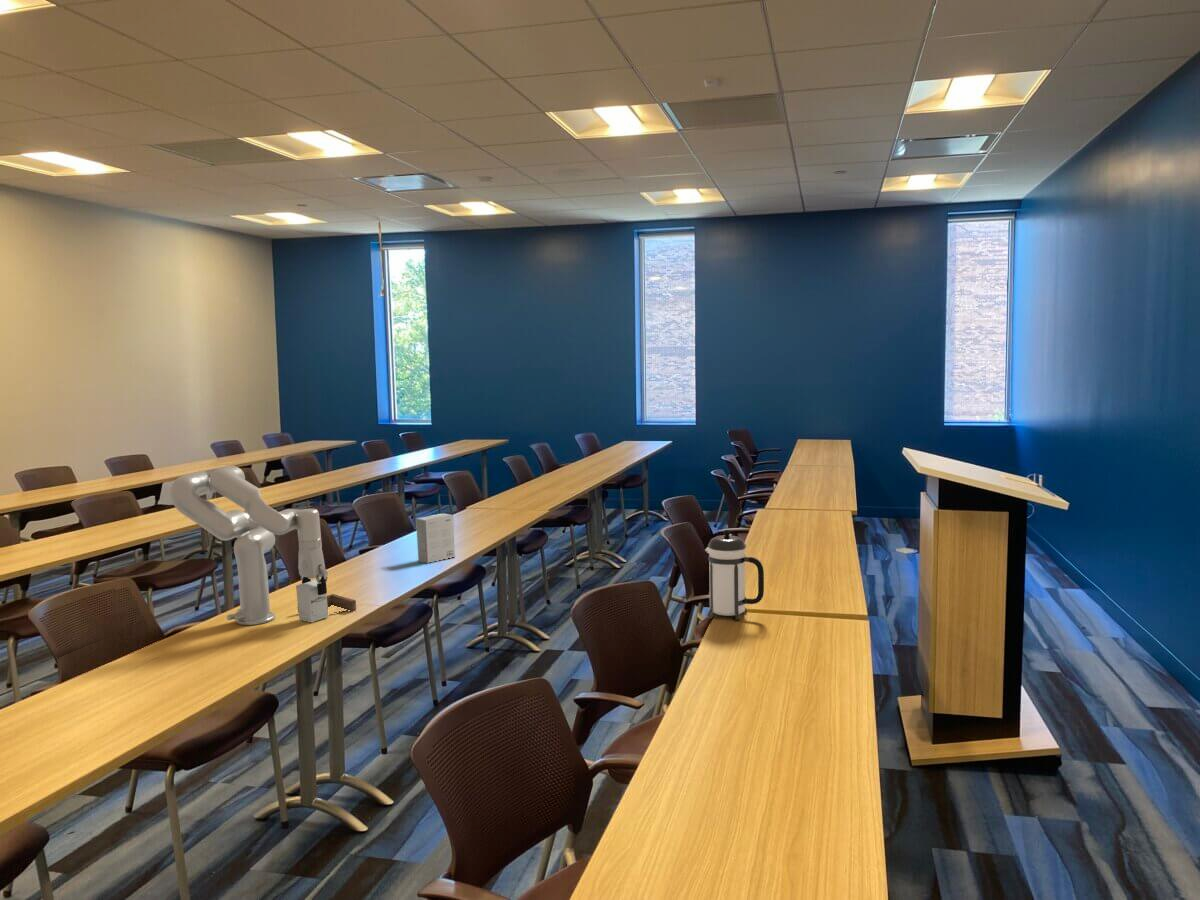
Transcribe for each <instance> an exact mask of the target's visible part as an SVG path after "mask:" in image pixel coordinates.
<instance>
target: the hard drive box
mask: <svg viewBox="0 0 1200 900" xmlns="http://www.w3.org/2000/svg"><path fill="white" fill-rule="evenodd" d="M415 526H416V542H417V557H418V562H419V561H421V562H420V563H423V562H425V563H424V564H430V563H429V562H432V563H435V562H434V561H436V562H439V560H441V561H444V560H443V559H445V560H449V559H448V558H450V559H453V558H452V557H454V558H456V545H455V529H454V528H455V526H454V515H453V514H449V513H445V512H444V513H437V514H432V515H428V516H423V517H422V516H421V517H417V518H415Z"/></svg>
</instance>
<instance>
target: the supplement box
mask: <svg viewBox="0 0 1200 900" xmlns="http://www.w3.org/2000/svg"><path fill="white" fill-rule="evenodd" d="M317 584H318V582H317V580H311V581H310V582H307V583H303V584H302V583H300V584H297V585H295V588H296V601H297V603H298V604H297V613H298V612H299V614H298V620H299V621H302V620H303V622H306V621H308V622H307V623H309V622H312V623H315V622H318V621H320V620H323V619H327V618H329V616H328V606H327V595H328V594H327V593H326V594H323V595H318V590H317Z"/></svg>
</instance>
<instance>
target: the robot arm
mask: <svg viewBox="0 0 1200 900" xmlns="http://www.w3.org/2000/svg"><path fill="white" fill-rule="evenodd" d="M261 492H262V491H261V489H260V488H259V487H257V486H256V485H254V484H253V483H251V482H249V481H248V480H246V476H245V472H244V470H242V469H241V468H240V467H238V466H236V465H226V466H223V467H222V466H221V467H217V468H210V469H205V470H204V469H203V470H198V471H195V472H190V473H187V474H184V475H182V476H179V477H178V478H176V479H175V480H173V483H172V484H171V487H170V499H171V502H172V504H173V506H174V507H175V509H176V510H178V511H179V512H180V513H181V515H183V516H185V517H186V518H188V519H189V520H190V521H192V522H194V523H195V524H197V525H198V526H199V527H201V528H203V529H204V530H206V531H207V532H208V533H209V534H211V535H212V536H214V537H215V538H216V539H219V541H230V540H233V539H235V538H236V540H235V541H234V544H233V552H234V553H233V554H234V556H235V557H234V558H235V562H236V566H237V567H236V568H237V576H238V577H237V579H238V591H239V605H240V606H239V607H240V608H238V609H237V612H235V613H231V614H227V615H226V620H227V621H229V622H230V621H232V620H234V621H236V624H238V625H241V626H243V625H244V626H252V625H253V626H254V625H262V624H264V623H269V622H271V621H273V620H274V619H275V618H276V613H274V612H271V608H270V605H271V604H270V593H269V592H270V591H269V590H270V589H269V576H268V566H267V562H266V559H265V553H268V552H269V551H270V550H272V549H273V548H274V546H275V543H276V537H275V535H278V536H280V535H285V534H287V533H290V532H291V531H293V530H297V537H298V559H297V560H298V566H297V569H298V574H299V576H300V580H301V584H303V583H307V582H310V581H312V579H316V580H315V581H317V582H318V584H317V590H318V595H323V594H326V595H327V593H328V588H327V583H328V581H327V580H328V575H329V571H328V570H327V569H326V565H325V558H324V553H323V552H324V551H323V549H322V548H323V544H322V533H321V520H320V519H321V518H320V513H319V512H320V511H319V510H318V509H317V508H304V509H297V508H286V509H283V510H281V511H277V510H276V509H274V508H272V506H269V505H268V504H267V503H266V502H265V501H264V500H263V499H262V496H261V495H262V494H261ZM212 493H218V494H220V495H221V496H223V497H225V498H226V499H227V500H229V501H231V502H232V503H234V504H236V505H237V506H239V507H241V508H242V509H243V510H240V509H231V510H228V511H226V510H223V509H221V508H220V507H218V506H216V504H215V503H213V502H211V501H209V500H206V499H205V498H202V497H201V496H204V495H206V494H212Z"/></svg>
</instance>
